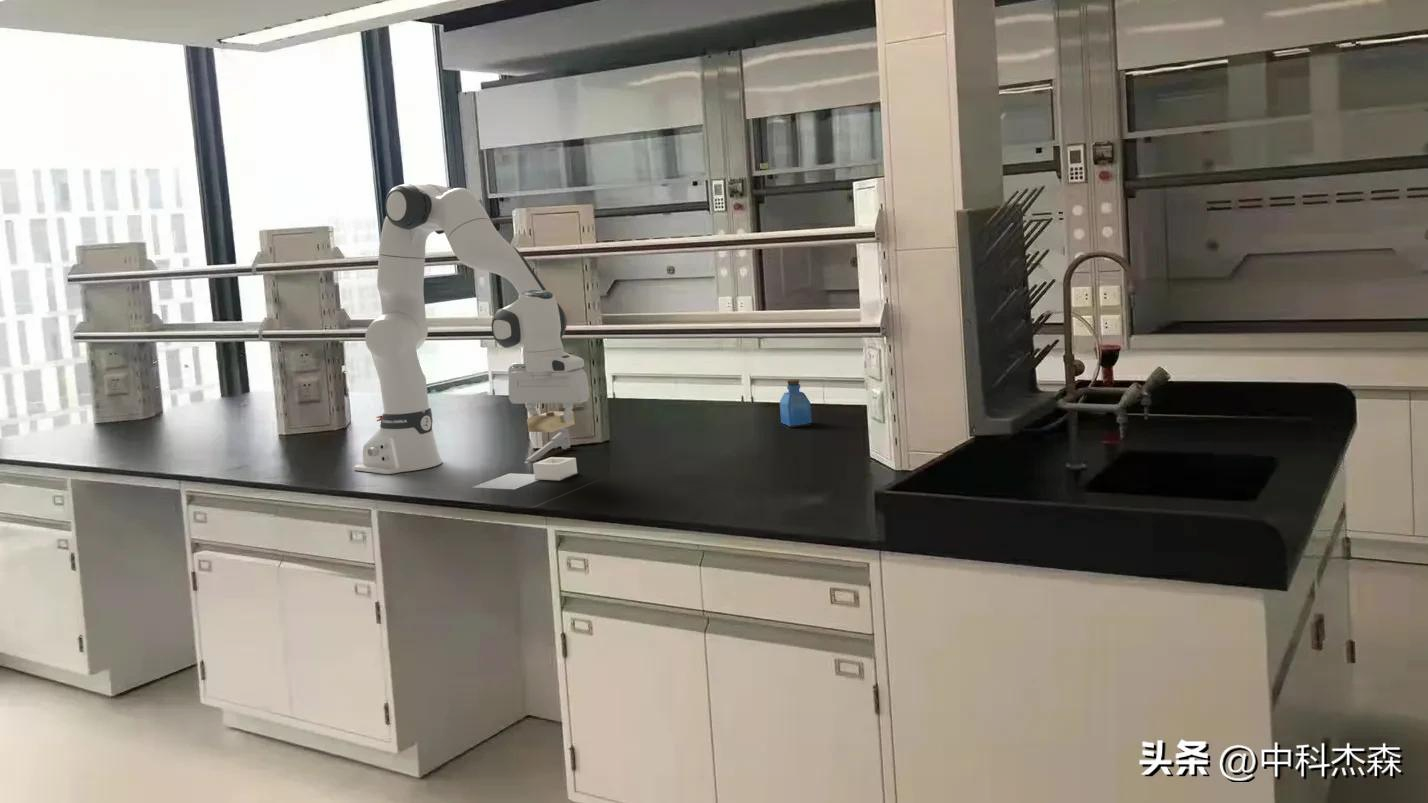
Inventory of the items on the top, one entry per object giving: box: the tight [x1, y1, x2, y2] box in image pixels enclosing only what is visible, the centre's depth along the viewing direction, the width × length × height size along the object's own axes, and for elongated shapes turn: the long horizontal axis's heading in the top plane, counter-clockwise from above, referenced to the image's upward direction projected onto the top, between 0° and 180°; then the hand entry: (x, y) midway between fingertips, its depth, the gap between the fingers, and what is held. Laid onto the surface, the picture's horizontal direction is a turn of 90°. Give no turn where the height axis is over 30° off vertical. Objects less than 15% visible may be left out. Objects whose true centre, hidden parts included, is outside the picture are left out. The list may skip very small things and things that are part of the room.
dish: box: [532, 456, 578, 481], centre depth 274 cm, size 7×7×4 cm
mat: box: [471, 472, 541, 490], centre depth 272 cm, size 12×14×1 cm
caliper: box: [524, 427, 571, 464], centre depth 301 cm, size 20×1×6 cm, turn 155°
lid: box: [526, 410, 576, 433], centre depth 272 cm, size 6×9×4 cm
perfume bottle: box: [779, 379, 812, 426], centre depth 316 cm, size 6×6×12 cm
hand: (551, 422), depth 272 cm, fingers closed on lid, 6 cm apart
